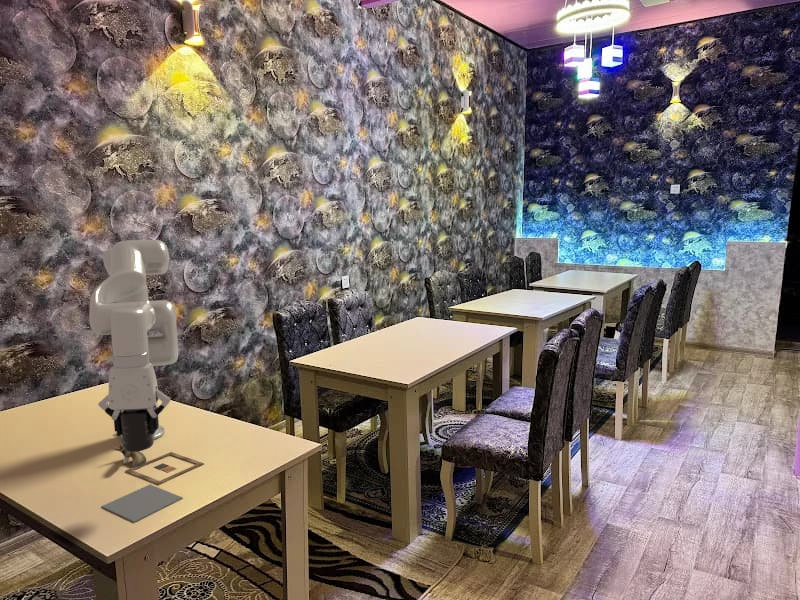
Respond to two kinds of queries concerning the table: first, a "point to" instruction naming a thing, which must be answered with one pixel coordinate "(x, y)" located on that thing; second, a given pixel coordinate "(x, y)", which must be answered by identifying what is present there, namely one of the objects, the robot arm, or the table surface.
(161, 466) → the frame
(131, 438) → the supplement bottle
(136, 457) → the eagle figurine
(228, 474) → the table surface
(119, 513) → the mat
